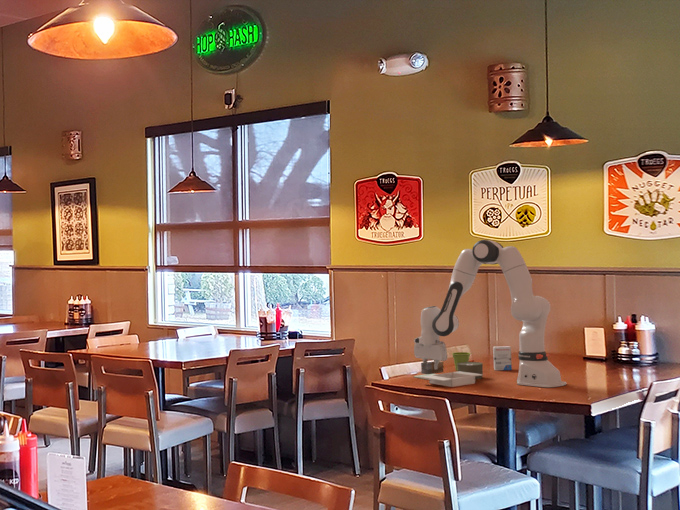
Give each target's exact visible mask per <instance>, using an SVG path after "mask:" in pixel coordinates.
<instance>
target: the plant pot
mask: <svg viewBox="0 0 680 510" xmlns="http://www.w3.org/2000/svg"><path fill="white" fill-rule="evenodd" d="M451 355H452V358H453V363H454V368H455V372H458V365H457V363H461V362H470V357H471V352H465V351H464V352H463V351H462V352H461V351H458V352H452V353H451Z"/></svg>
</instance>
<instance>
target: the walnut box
mask: <svg viewBox="0 0 680 510" xmlns="http://www.w3.org/2000/svg"><path fill="white" fill-rule="evenodd" d="M434 364H435V362H434V361H427V362H424V363H423V362H421V363H420V369H421V374H420V375H425V374H443V373H444V362H443V361H439V364H438V369H436V370H435V369H433V366H434Z"/></svg>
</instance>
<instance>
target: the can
mask: <svg viewBox="0 0 680 510" xmlns="http://www.w3.org/2000/svg"><path fill="white" fill-rule="evenodd" d="M483 364H484V363H482V362H479V361H469V362H461V363H457V365H458V371H461V372H470V373H477V374H483V371H484V370H483V366H484V365H483ZM458 371H457V372H458ZM483 378H484V374H483V375H482V376H475V380H481V379H483Z"/></svg>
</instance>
